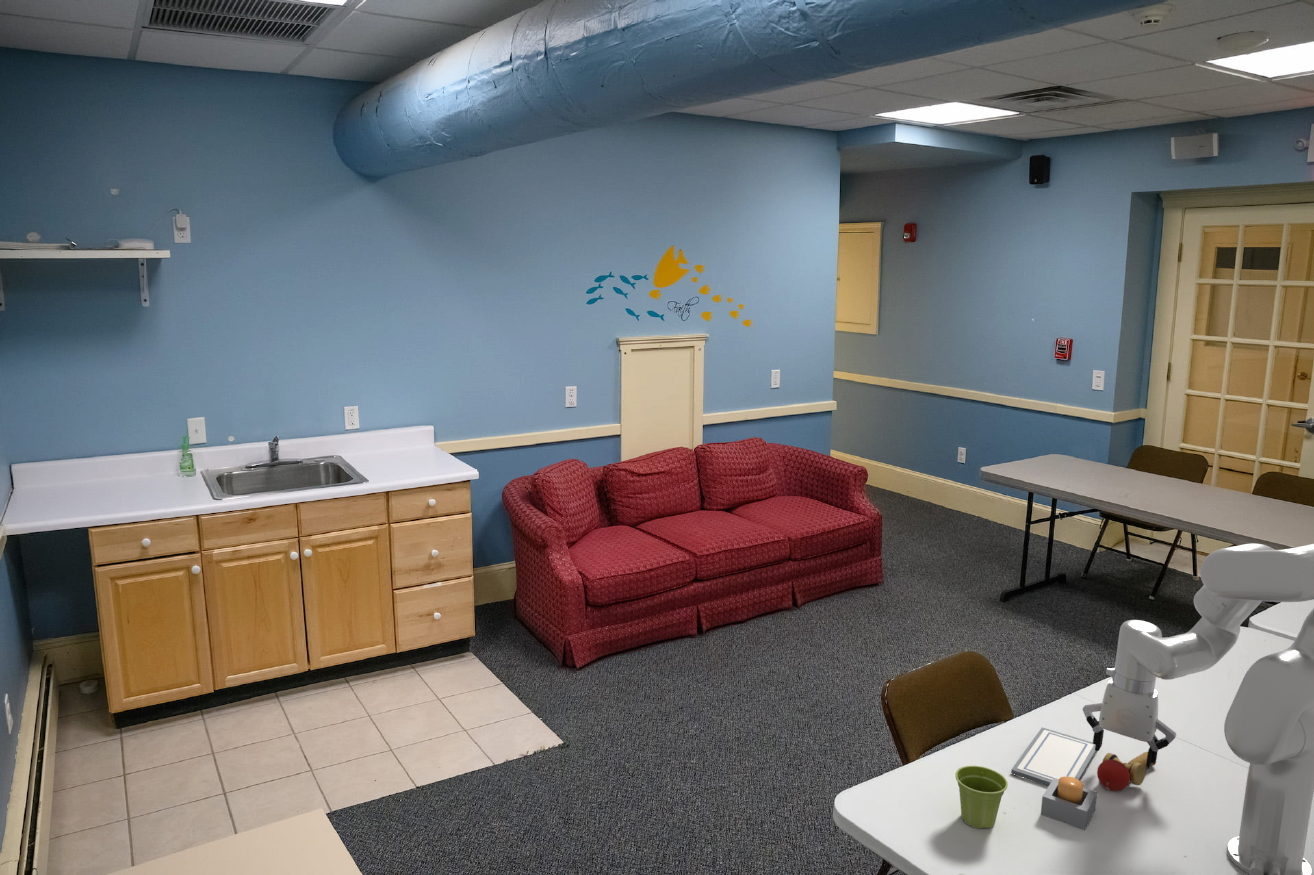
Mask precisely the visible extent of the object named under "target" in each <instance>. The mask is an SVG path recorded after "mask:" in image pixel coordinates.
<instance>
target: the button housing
mask: <svg viewBox="0 0 1314 875" xmlns="http://www.w3.org/2000/svg"><path fill="white" fill-rule="evenodd" d="M1058 782H1059V779H1056V778H1054V779H1053V780H1052V782H1051V783H1050V785H1049V786H1047V788H1046V790H1045V791H1044V793H1043V795H1042V797H1041V806H1040V808H1041V809H1040V816H1043V817H1046V818H1049V819H1052V820H1054V821H1057V822H1059V823H1062V824H1065V825H1069V826H1071V827H1074V828H1076V829H1080V830H1082V831H1086V830H1087V828H1088V825H1089V824H1090V822H1091V820H1092V818H1093V816H1094V814H1095V813H1096V809H1097V808H1096V807H1097V801H1098V800H1097V799H1098V798H1097V797H1098V791H1095V790H1092V789H1090V788H1087V787H1083V797H1082V802H1080V803H1077V804H1075V803H1072V802H1069V801H1066V800H1063V799H1060V798H1059V797H1058V795H1057V792H1058Z"/></svg>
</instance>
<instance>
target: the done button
mask: <svg viewBox="0 0 1314 875" xmlns="http://www.w3.org/2000/svg"><path fill="white" fill-rule="evenodd" d="M1083 788H1085V787H1084V783H1083V782H1082V781H1081V780H1078V779H1076V778H1073V777H1067V776H1065V777H1061V778H1059V782H1058V792H1057V795H1058V797H1059V798H1060V799H1063V800H1066V801H1069V802H1072V803H1075V804H1077V803H1080V802H1082V797H1083Z"/></svg>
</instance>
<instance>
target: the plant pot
mask: <svg viewBox="0 0 1314 875" xmlns="http://www.w3.org/2000/svg"><path fill="white" fill-rule="evenodd" d="M955 780H956V781H957V782H956V783H957V786H958V789H959V790H958V791H959V801H960V813H961V814H960V816H961V818H962V819H963V821H964V823H965V824H967V825H969V826H970V825H971V826H970V827H973V828H976V829H983V828H985V829H991V828H992V827H994V826H995V824H996V821H997V817H998V812H999V809H1000V805H1001V801H1002V798H1003V795H1004V794H1005V791H1007V789H1008V786H1009V783H1008V780H1007V778H1006V777H1004V775H1002V774H1001V773H999V771H998V772H997V771H996V770H995V769H992V768H989V767H985V766H981V765H980V766H979V765H965V766H962V767H960V768H958V769H957V770H956V771H955Z"/></svg>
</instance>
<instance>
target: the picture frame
mask: <svg viewBox="0 0 1314 875" xmlns="http://www.w3.org/2000/svg"><path fill="white" fill-rule="evenodd" d="M1097 752H1098V751H1096V750H1095V744H1093V741H1089V740H1085V739H1082V738H1079V737H1076V736H1072V735H1068V734H1065V733H1062V732H1059V731H1056V730H1052V729H1049V728H1046V727H1041V728H1040V729H1039V731H1038V732H1037V734H1036V735H1035V736H1034V738H1033V739H1032V741H1031V742H1030V743H1029V745H1028V746H1027V747H1026V749H1025V750H1024V752H1023V753H1022V754H1021V756H1020V757H1019V758H1018V760H1016V762H1015V764H1014V765H1013V767H1012V768H1011V771H1010V773H1012V774H1011V775H1013V774H1015V776H1016V775H1017V777H1019V776H1020V778H1022V777H1024V778H1023V779H1025V778H1026V779H1025V780H1028V779H1029V781H1031V780H1032V782H1034V783H1038V784H1041V785H1043V786H1046V787H1048V786H1049V785H1050V783H1051V782H1052V780H1053V779H1054V778H1056V779H1059V778H1061V777H1065V776H1067V777H1073V778H1076V779H1078V780H1080V781H1081V780H1082V779H1083V777H1084V775H1085V773H1086V771H1087V770H1088V768H1089V766H1090V764H1091V763H1092V761H1093V760H1094V757H1095V756H1096V754H1097Z"/></svg>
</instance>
